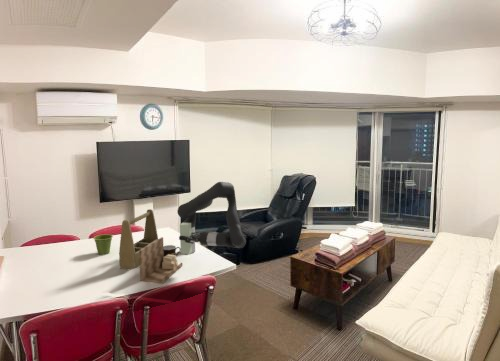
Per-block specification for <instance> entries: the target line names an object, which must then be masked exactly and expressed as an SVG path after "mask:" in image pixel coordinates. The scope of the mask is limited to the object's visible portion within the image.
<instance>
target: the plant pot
mask: <svg viewBox="0 0 500 361" xmlns="http://www.w3.org/2000/svg"><path fill="white" fill-rule="evenodd" d="M113 238H114V235H113V234H107V233H106V234H98V235H95V236H94V237H93V240H94V242H95V246H96V250H97V254H98V255H101V256H103V255H108V254H109V253H110V251H111V246H112V245H111V243H112V240H113Z"/></svg>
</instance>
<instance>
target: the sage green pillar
mask: <svg viewBox="0 0 500 361" xmlns="http://www.w3.org/2000/svg"><path fill="white" fill-rule="evenodd" d="M190 235H191V223H182V222H181V223H180V224H179V236H190ZM179 241H180V249H181V250H180V254H181V255H191V254H192V253H191V252H192V243H187V242H185V240H179Z"/></svg>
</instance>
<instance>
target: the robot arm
mask: <svg viewBox="0 0 500 361" xmlns="http://www.w3.org/2000/svg"><path fill="white" fill-rule="evenodd" d="M217 198H220V199H221V198H222V199H226V200H227V204H228V206H227V210H226V215H225V219H226V224H227V228H228V233H229V234H228V233H225V232H216V231H201V232H199V231H198V232H196V221H197V212H199V211H203V210H205V209H207V208H208V207H210V206H211V205H212V204H213V201H214V200H215V199H217ZM177 215H178V216H179V217H180V218H182V219H184V220H183V221H182V222H181V223H191V235H190V236H180V235H179V236H178V240H179V241H180V240H185V242H187V243H192V252H191V253H190V254H193V253H195V252H196V243H198V242H199V244H200V245H201V246H212V247H217V246H218V247H229V248H234V249H243V248H244V247H245V246H246V244H247V239H246V238H245V237H244V235H243V232H242V224H241V222H240V221H241V220H240V218H239V214H238V207H237V200H236V191H235V187H234V185H233V184H232V183H230V182H229V181H228V182H226V181H225V182H224V181H218V182H216V183H214V184H213V185H212V186H211V187H209V188H208V189H207V190H205V191H204V192H202V193H200V194H198V195H197V196H195V197H193V198H192V199H191V200H189V201H187V202H185V203H182V204H180V205H179V206H178V208H177Z"/></svg>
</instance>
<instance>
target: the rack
mask: <svg viewBox="0 0 500 361" xmlns="http://www.w3.org/2000/svg"><path fill="white" fill-rule="evenodd" d="M163 246H164V237H162V236H161V237H160V238H158V240H156V241H155V242H153V243H151V244H150V245H148V246H146V247H145V248H143V249H141V250H140V251H139V254H140V265H139V271H140V272H139V273H140V282H143V283H144V282H145V283H152V284H153V283H154V284H164V283H165V282H166V281H167V280H169V279H170V278H172V276H173V275H175V274H176V273H177V272H178V271H179V270H180V269H181V268H182V267H183V262H180V263H179V264H178V265H177V267H176V268H174V269H162V263H163V257H164V248H163Z"/></svg>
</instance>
